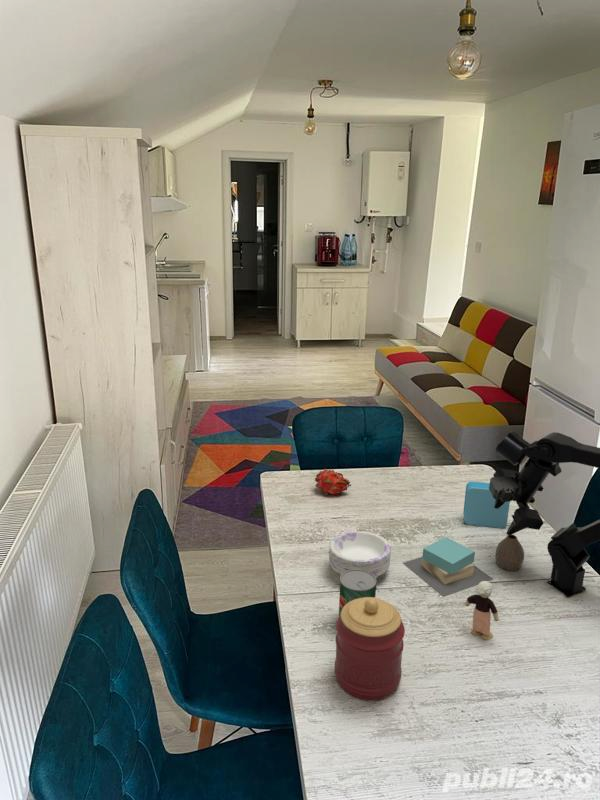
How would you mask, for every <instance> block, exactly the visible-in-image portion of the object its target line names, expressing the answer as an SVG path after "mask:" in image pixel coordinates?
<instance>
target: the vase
mask: <svg viewBox="0 0 600 800" xmlns="http://www.w3.org/2000/svg"><path fill="white" fill-rule="evenodd" d="M494 553H495V560H496V563H497V565H498V566H499V567H500V568H502V569H503V570H506V571H516V570H519V568H521V566H522V565H523V563H524V559H525V550H524V548H523V545H522V543H520V541H519V540H518V537H517V535H515V534H512V535H507V534H506V537H504V538H503V539H502V540H501V541H499V542H498V544H497V546H496V549H495V552H494Z"/></svg>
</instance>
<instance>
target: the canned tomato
mask: <svg viewBox="0 0 600 800" xmlns="http://www.w3.org/2000/svg"><path fill="white" fill-rule="evenodd" d="M339 581H340V582H339V603H338V605H339V606H338V617H339V616H340V614H341V611H342V609H343V607H344V606H345V605H346V604H347V603H348V602H350V601H352V600H355V599H358V598H363V597H373V598H376V595H377V594H376V591H377V578H375V576H374V575H373V574H371V573H370V572H368V571H365V570H359V569H353V570H348V571H346V572H344V573H343V574H342V575H340V576H339Z"/></svg>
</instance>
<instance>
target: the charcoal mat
mask: <svg viewBox="0 0 600 800" xmlns="http://www.w3.org/2000/svg"><path fill="white" fill-rule="evenodd" d="M402 564H403V565H404V566H405V567H407V568H408V570H409V571H411V572H412V573H414V574H415V575H416V576H418V577H419V578H420V579H421V580H422V581H423V582H425V584H426V585H428V586H429V587H430V588H432V589H433V590H434V591H435V592H437V593H438V594H439V595H440V596H442V597H443V598H444V597H448V596H451V595H453V594H455V593H459V592H462V591H463V590H464V591H465V590H466V589H469V588H473V587H475V586H476V587H477V585H478V584H479V583H480V582H482V581H488V582H490V581H494V577H491V575H488V574H487V573H486V572H485V571H483V570H481V568H479V567H477V566H476V565H475V564H474V571H473V576H470V577H467V578H464V579H461V580H458V581H455V582H452V583H449V584H446V585H444V584H443V583H442V582H441V581H439V580H438V579H437V578H436V577H434V576H433V575H432V574H431V573H429V572H428V571H427V570H426V569H424V568H423V567H422V556H420V557H417V558H414V559H410V560H407V561H403V562H402Z"/></svg>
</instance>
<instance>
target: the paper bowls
mask: <svg viewBox="0 0 600 800" xmlns="http://www.w3.org/2000/svg"><path fill="white" fill-rule="evenodd" d="M328 545H329V546H328V547H329V549H328V563H329V565H330V567H331V568H332V570H334V572H336V573H338V574H339V575H340V576H341V575H342V574H343V573H344V572H346V571H348V570H353V569H359V570H365V571H368V572H370V573H371V574H373V575H374V576H375V578H376V579H378V577H379V576H382V575H383V574H385V573H386V572H387V571H388V569H389V568H390V564H391V551H392V549H391V545H390V543H389V542H388V541H387V540H386V539H385V538H384V537H382V536H381V535H379V534H376V533H373V532H369V531H362V530H361V531H359V530H357V531H355V530H354V531H347V532H343V533H340V534H338V535H336V536H334V537H333V538H332V539H331V540H330V542H329V544H328Z"/></svg>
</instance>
